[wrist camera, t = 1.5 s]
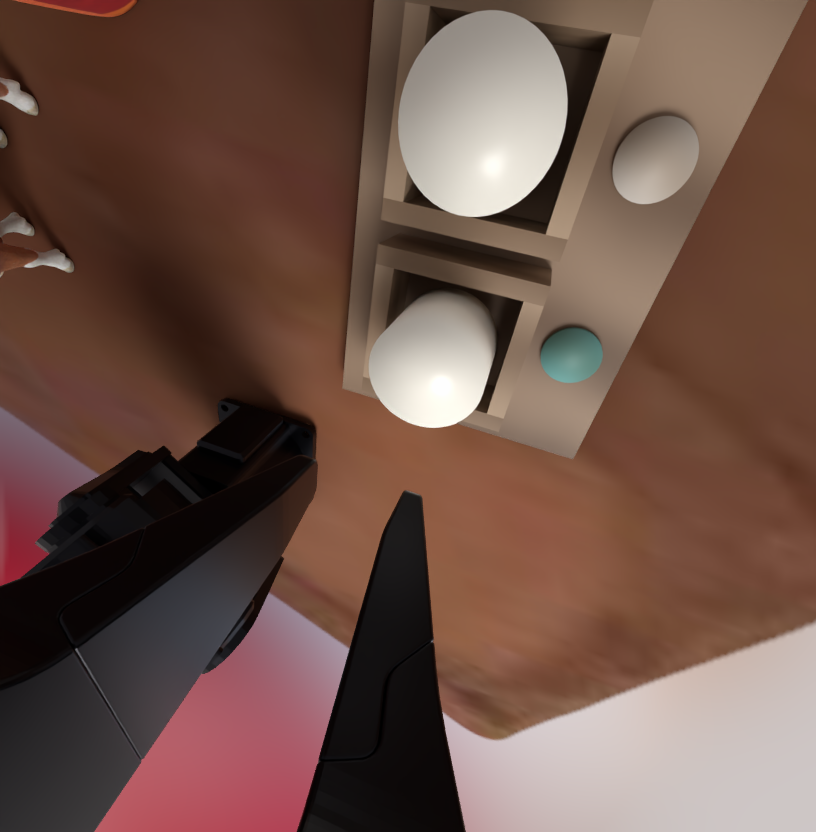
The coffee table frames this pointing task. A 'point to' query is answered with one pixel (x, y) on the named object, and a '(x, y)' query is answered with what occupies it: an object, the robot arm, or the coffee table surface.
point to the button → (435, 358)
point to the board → (562, 195)
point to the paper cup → (88, 6)
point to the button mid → (482, 113)
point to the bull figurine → (11, 256)
